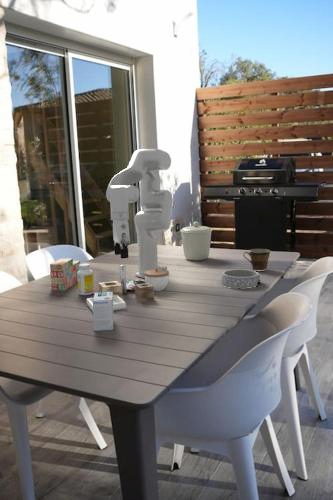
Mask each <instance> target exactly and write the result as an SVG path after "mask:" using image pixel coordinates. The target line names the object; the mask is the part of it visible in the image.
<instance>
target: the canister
mask: <svg viewBox="0 0 333 500" xmlns="http://www.w3.org/2000/svg"><path fill="white" fill-rule="evenodd" d="M212 231H213V228H211V227H210V226H204V225H200V222H198V221H193V223H192V226H191V225H190V226H185V227H182V229H179V232H180V233H181V234H180V236H181V240H182V241H181V242H182V249H183V255H184V257H185V259H186V260H189V261H203V260H207V259H208V257H209V256H210V251H211V239H212V237H211V236H212Z"/></svg>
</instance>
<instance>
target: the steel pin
mask: <svg viewBox="0 0 333 500" xmlns="http://www.w3.org/2000/svg"><path fill="white" fill-rule="evenodd" d="M118 267H119V269H118V270H119V283H120V284H121V285H122V294H127V293H128V292H127V271H126V265H125V264H120V265H119V266H118Z"/></svg>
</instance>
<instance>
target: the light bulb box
mask: <svg viewBox="0 0 333 500" xmlns="http://www.w3.org/2000/svg"><path fill="white" fill-rule="evenodd" d="M92 298H93V312H92V315H93V331H94V332H95V331H113V330H114V322H115V321H114V320H115V318H114V317H115V316H114V310H113V292H99V291H98V292H94V293H93V297H92Z"/></svg>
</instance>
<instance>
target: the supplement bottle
mask: <svg viewBox="0 0 333 500" xmlns="http://www.w3.org/2000/svg"><path fill="white" fill-rule="evenodd" d="M79 268H80V270H79V271H78V272H77V277H78V282H77V287H78V289H77V290H78V294H79V295H81V296H90V295H94V293H95V287H94V284H95V283H94V273H93V272H94V271H93V270H92V269H91V264H90V263H80V265H79Z"/></svg>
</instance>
